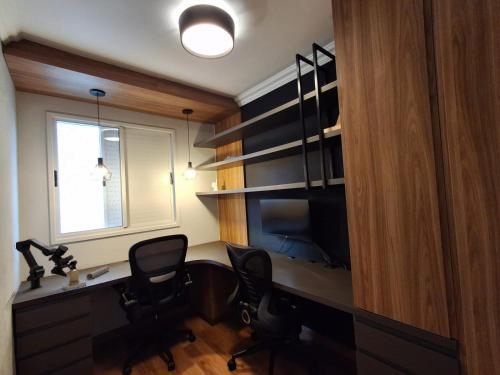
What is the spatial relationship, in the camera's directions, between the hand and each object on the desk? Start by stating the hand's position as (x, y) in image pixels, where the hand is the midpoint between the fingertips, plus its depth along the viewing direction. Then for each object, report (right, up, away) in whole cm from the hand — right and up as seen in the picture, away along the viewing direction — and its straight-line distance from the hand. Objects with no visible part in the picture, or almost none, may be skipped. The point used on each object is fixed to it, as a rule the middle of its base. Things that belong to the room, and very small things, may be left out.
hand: (71, 274), depth 182 cm
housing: (+2, -9, -1) cm, 9 cm away
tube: (+3, -11, +28) cm, 30 cm away
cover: (+2, -9, -1) cm, 9 cm away
